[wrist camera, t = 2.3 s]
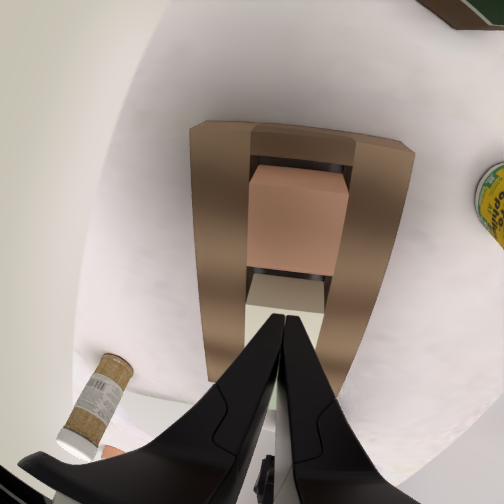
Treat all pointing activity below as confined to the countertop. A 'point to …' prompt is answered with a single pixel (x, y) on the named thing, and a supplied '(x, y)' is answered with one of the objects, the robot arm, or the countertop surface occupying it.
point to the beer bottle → (469, 13)
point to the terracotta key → (295, 219)
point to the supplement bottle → (492, 202)
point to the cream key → (284, 303)
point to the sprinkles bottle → (95, 408)
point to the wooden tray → (236, 230)
